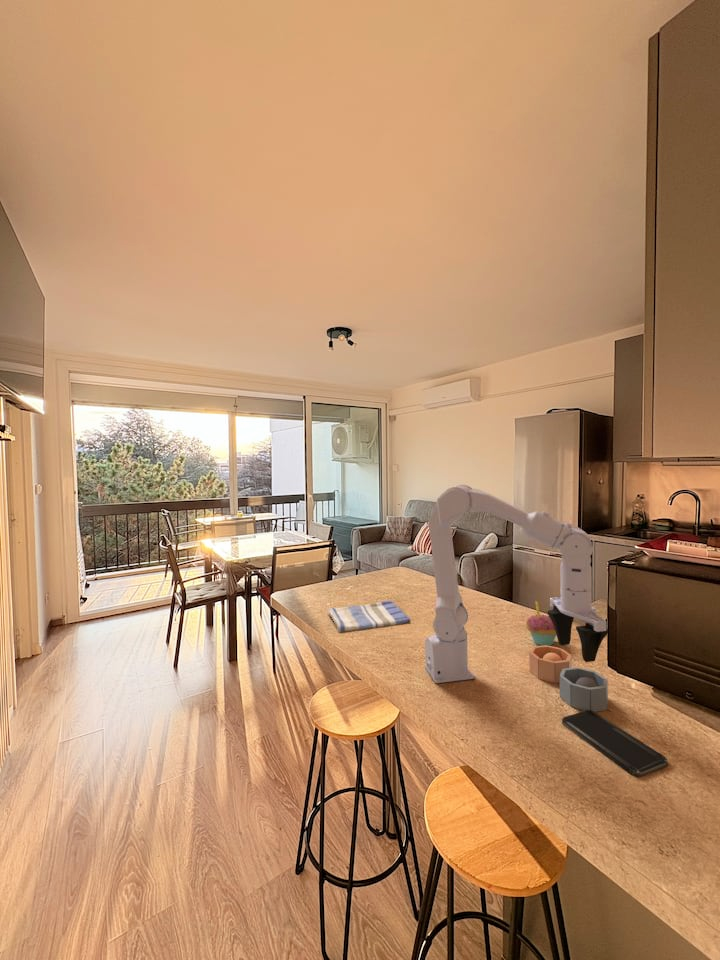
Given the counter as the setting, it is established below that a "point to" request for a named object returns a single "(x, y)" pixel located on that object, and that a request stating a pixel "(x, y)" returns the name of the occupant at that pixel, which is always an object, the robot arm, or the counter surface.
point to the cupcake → (541, 628)
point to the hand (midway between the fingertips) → (576, 652)
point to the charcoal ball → (586, 682)
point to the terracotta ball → (552, 657)
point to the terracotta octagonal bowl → (548, 663)
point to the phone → (615, 743)
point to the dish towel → (367, 616)
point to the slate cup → (583, 689)
